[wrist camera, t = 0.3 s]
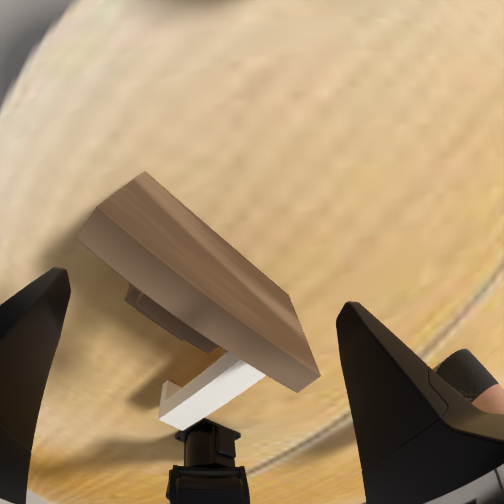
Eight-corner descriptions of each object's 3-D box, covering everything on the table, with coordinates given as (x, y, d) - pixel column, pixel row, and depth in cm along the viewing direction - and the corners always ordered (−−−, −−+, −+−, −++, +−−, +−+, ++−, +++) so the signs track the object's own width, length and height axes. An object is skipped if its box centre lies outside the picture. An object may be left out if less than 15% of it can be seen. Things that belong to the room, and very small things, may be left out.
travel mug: (445, 387, 39) (501, 473, 20) (425, 380, 36) (487, 481, 18) (476, 353, 36) (542, 436, 18) (459, 342, 34) (536, 438, 16)
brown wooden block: (224, 350, 29) (230, 434, 20) (87, 248, 23) (32, 316, 14) (288, 295, 27) (320, 376, 18) (145, 171, 21) (96, 206, 12)
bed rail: (184, 395, 31) (182, 430, 27) (162, 383, 30) (158, 419, 26) (275, 324, 28) (285, 360, 24) (253, 307, 27) (260, 343, 23)
